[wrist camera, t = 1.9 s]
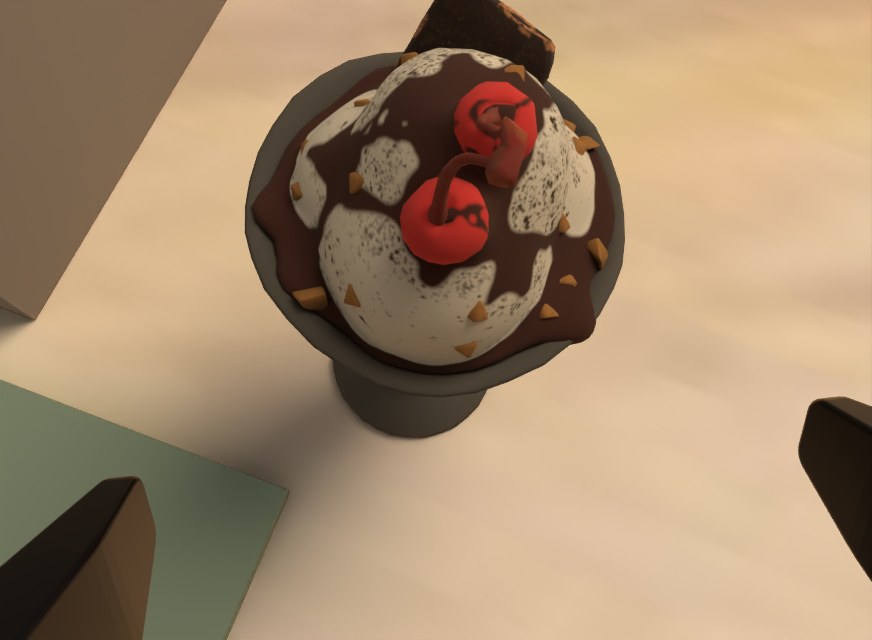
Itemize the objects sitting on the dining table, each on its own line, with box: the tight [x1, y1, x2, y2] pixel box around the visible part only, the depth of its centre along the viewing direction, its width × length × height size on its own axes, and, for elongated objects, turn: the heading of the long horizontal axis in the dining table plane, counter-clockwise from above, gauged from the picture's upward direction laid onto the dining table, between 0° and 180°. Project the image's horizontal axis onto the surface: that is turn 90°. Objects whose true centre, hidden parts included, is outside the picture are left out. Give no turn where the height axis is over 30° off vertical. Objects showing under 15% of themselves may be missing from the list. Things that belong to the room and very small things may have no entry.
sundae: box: [245, 0, 625, 437], centre depth 14 cm, size 7×7×15 cm
